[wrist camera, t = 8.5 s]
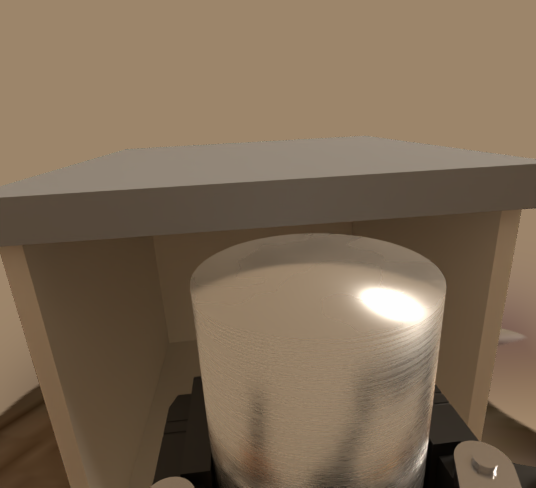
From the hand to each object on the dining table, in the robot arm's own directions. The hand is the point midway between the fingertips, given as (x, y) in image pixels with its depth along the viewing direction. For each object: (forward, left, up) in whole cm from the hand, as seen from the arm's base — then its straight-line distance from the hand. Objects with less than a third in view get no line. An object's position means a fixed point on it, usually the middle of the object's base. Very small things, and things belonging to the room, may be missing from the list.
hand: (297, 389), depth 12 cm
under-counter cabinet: (0, -18, -18) cm, 25 cm away
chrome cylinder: (0, +3, -7) cm, 7 cm away
